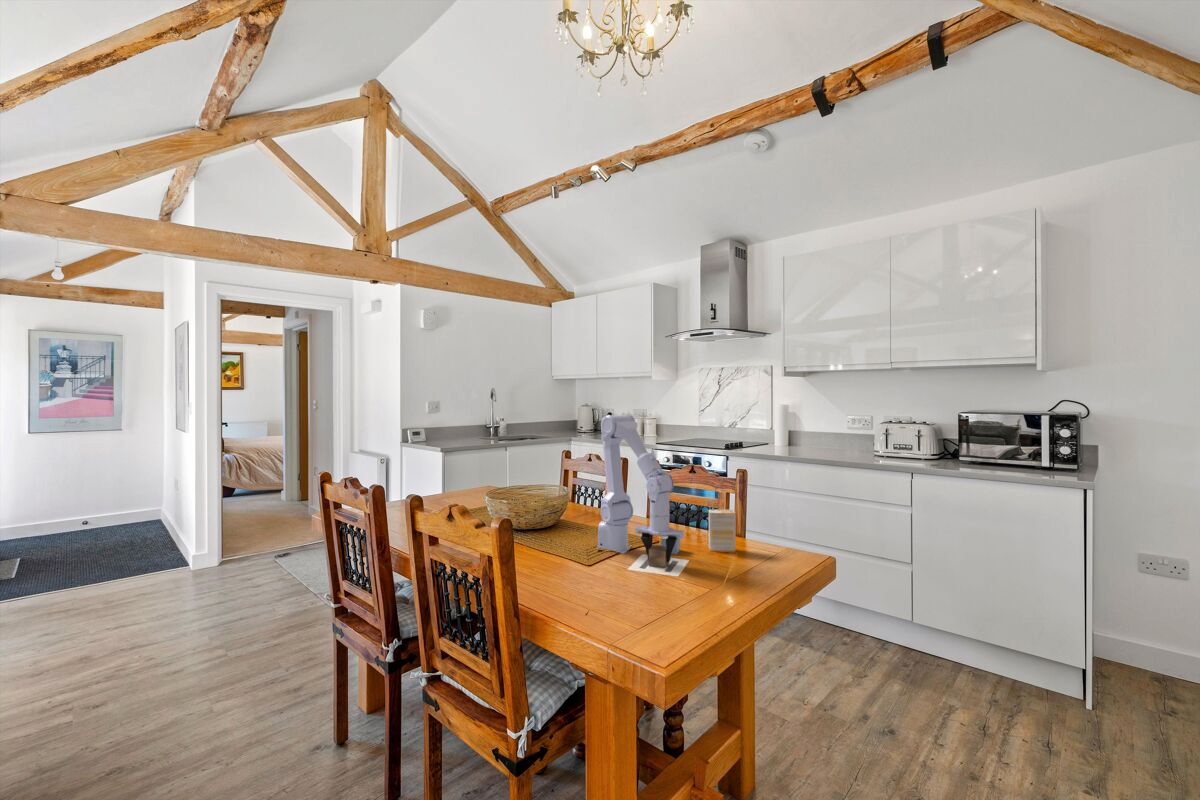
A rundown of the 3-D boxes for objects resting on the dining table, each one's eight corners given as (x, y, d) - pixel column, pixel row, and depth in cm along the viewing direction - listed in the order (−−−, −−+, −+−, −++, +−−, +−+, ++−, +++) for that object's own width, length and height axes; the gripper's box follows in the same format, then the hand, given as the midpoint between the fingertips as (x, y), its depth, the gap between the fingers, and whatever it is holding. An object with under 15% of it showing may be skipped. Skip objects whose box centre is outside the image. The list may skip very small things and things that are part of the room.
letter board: (627, 570, 158) (627, 569, 158) (642, 555, 172) (642, 554, 172) (678, 577, 153) (678, 576, 153) (689, 561, 167) (689, 560, 167)
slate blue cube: (660, 553, 174) (661, 538, 174) (665, 549, 179) (665, 534, 179) (676, 555, 172) (676, 540, 172) (679, 551, 177) (680, 535, 177)
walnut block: (648, 565, 161) (648, 549, 161) (653, 560, 166) (653, 544, 166) (665, 568, 159) (665, 551, 159) (669, 562, 164) (669, 546, 164)
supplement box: (733, 548, 180) (733, 509, 179) (735, 553, 175) (736, 512, 174) (707, 547, 180) (708, 508, 180) (709, 552, 176) (709, 512, 175)
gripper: (632, 515, 161) (631, 560, 161) (680, 520, 156) (679, 567, 156) (639, 510, 168) (638, 553, 168) (685, 514, 162) (685, 559, 163)
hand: (659, 559), depth 163 cm, fingers closed on walnut block, 5 cm apart
